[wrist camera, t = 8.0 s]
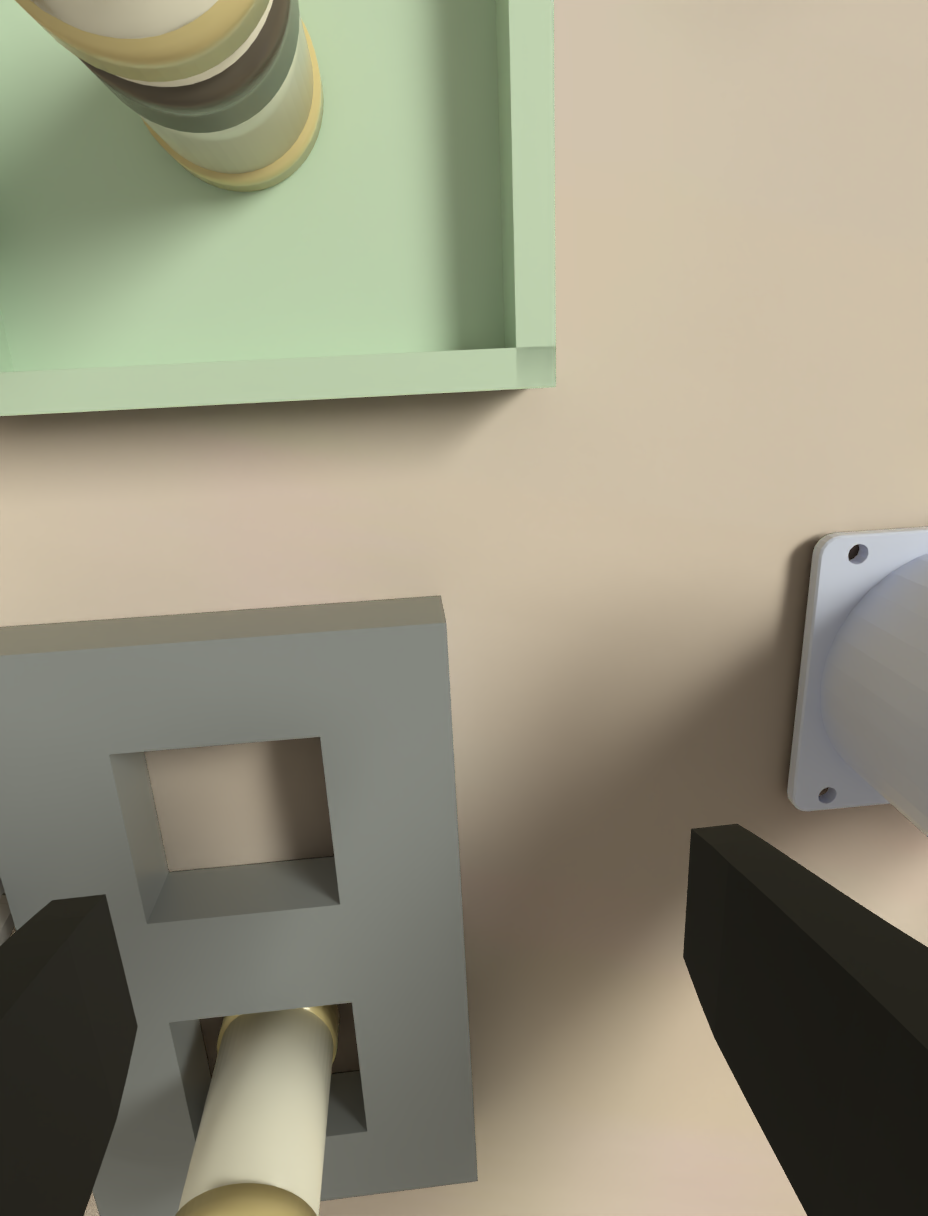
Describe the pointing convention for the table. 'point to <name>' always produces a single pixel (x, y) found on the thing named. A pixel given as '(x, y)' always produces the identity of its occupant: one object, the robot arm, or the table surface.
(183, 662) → the fuse block
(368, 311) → the parts tray
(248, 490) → the table surface
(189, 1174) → the fuse
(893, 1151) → the robot arm
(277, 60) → the banded cream cylinder
